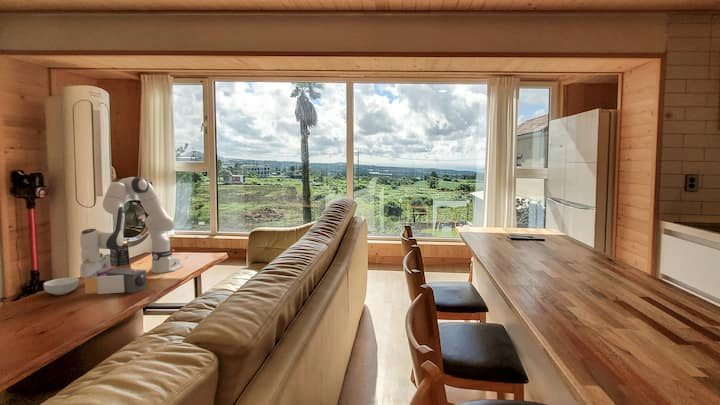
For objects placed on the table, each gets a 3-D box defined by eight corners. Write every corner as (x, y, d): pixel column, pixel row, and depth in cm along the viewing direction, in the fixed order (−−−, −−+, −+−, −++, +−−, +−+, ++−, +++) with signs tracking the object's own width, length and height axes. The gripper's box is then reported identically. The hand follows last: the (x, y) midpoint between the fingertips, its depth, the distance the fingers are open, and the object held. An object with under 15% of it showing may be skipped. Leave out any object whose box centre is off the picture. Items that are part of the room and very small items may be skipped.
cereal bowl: (86, 290, 245) (85, 278, 244) (58, 299, 229) (57, 287, 228) (66, 287, 250) (65, 275, 249) (37, 295, 235) (36, 283, 234)
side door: (124, 291, 240) (123, 275, 239) (124, 292, 239) (123, 275, 238) (86, 294, 235) (85, 277, 234) (85, 295, 234) (84, 278, 233)
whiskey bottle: (109, 271, 285) (106, 225, 281) (123, 267, 293) (120, 223, 289) (117, 273, 279) (114, 227, 276) (131, 269, 288) (129, 224, 284)
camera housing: (120, 284, 254) (119, 266, 253) (148, 288, 248) (147, 269, 247) (106, 290, 245) (105, 270, 243) (135, 293, 239) (134, 273, 237)
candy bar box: (106, 277, 269) (104, 253, 267) (112, 278, 268) (110, 253, 266) (91, 283, 258) (89, 257, 256) (98, 283, 257) (96, 258, 255)
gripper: (88, 261, 226) (90, 286, 227) (104, 253, 246) (105, 275, 247) (75, 262, 225) (77, 286, 226) (92, 253, 244) (94, 276, 246)
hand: (92, 280), depth 237 cm, fingers closed
